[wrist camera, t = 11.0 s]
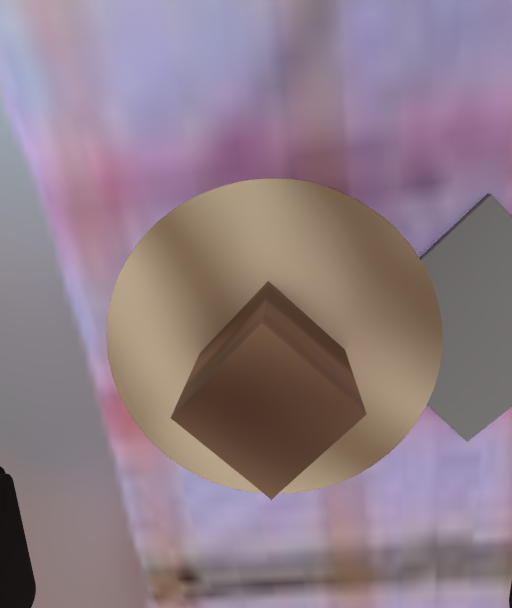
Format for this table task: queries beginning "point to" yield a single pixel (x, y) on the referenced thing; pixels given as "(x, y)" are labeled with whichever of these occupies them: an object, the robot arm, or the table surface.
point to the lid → (274, 336)
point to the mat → (474, 318)
